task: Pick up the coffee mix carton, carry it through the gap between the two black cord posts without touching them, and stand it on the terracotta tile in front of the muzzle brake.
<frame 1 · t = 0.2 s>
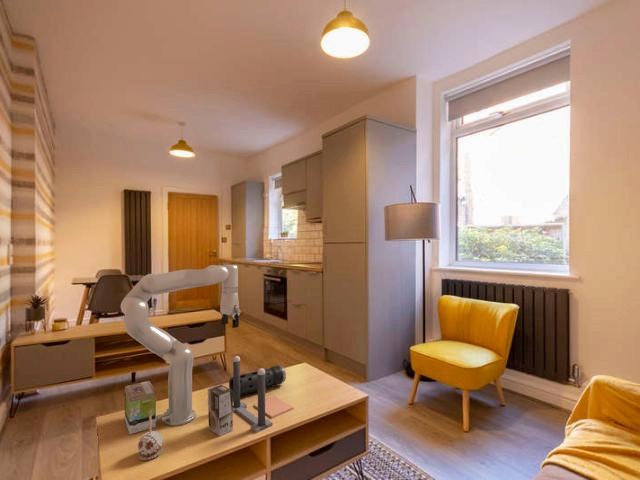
hand: (230, 325, 160), 36 cm above the table, tool pointing down, fingers open, 9 cm apart
terracotta tile: (273, 407, 153), on the table
muzzle brake: (258, 391, 171), on the table
tea box: (140, 423, 141), on the table
decorative ornament: (150, 455, 119), on the table
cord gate: (248, 417, 144), on the table
coffee box: (220, 429, 135), on the table
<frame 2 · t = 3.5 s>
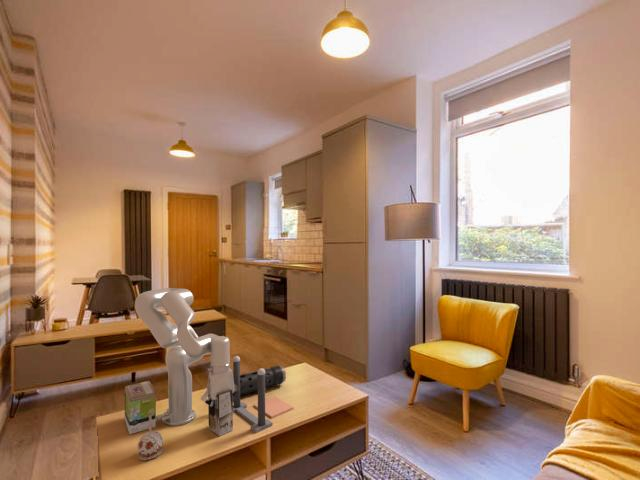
hand: (220, 411, 136), 7 cm above the table, tool pointing down, fingers closed on coffee box, 6 cm apart
coffee box: (220, 429, 135), on the table, touching gripper
everything else where it was.
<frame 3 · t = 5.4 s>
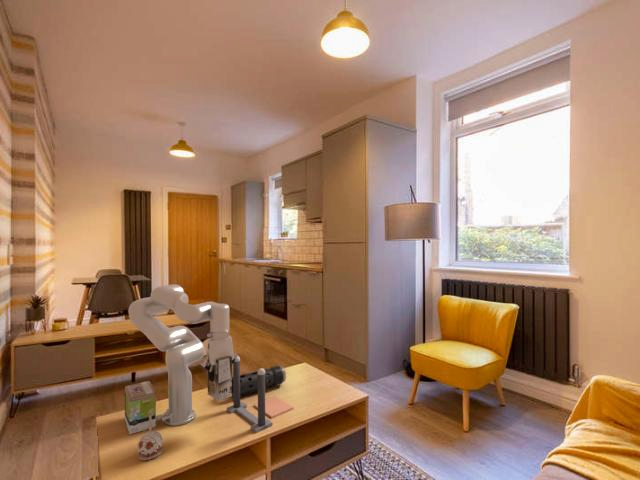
hand: (219, 377, 136), 21 cm above the table, tool pointing down, fingers closed on coffee box, 6 cm apart
coffee box: (219, 395, 136), point 13 cm above the table, touching gripper
everything else where it was.
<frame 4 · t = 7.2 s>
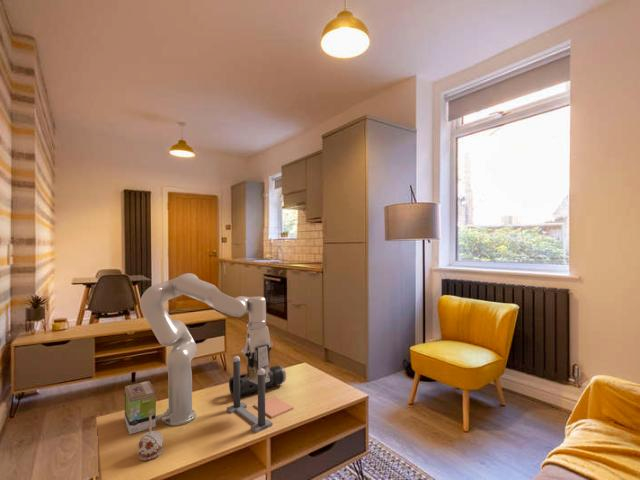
hand: (258, 364, 148), 22 cm above the table, tool pointing down, fingers closed on coffee box, 6 cm apart
coffee box: (258, 381, 148), point 14 cm above the table, touching gripper
everything else where it was.
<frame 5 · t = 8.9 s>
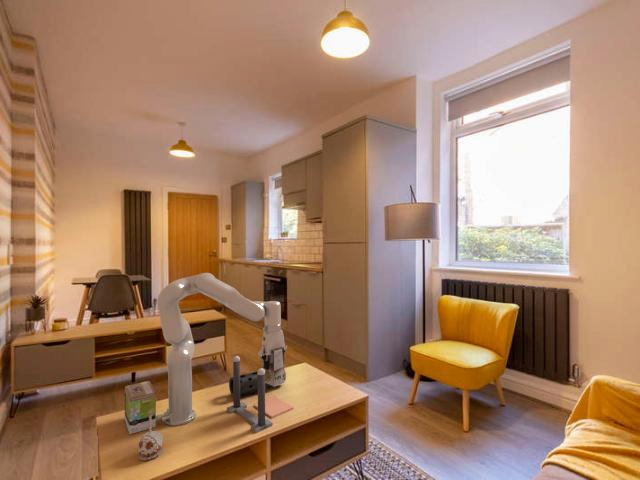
hand: (273, 366, 153), 19 cm above the table, tool pointing down, fingers closed on coffee box, 6 cm apart
coffee box: (273, 382, 153), point 11 cm above the table, touching gripper
everything else where it was.
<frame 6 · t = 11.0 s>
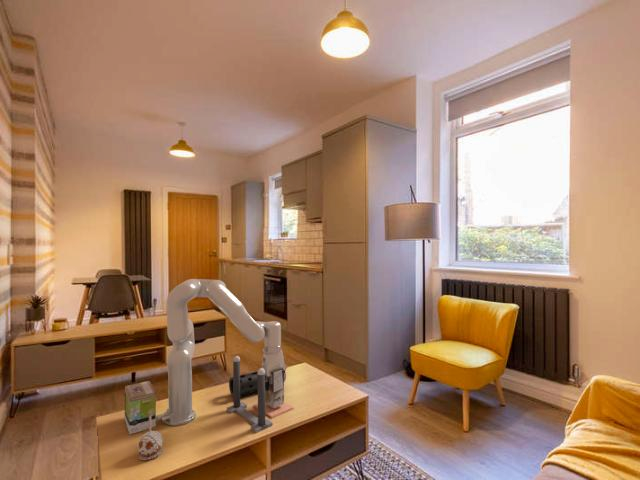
hand: (272, 387, 153), 9 cm above the table, tool pointing down, fingers closed on coffee box, 6 cm apart
coffee box: (272, 403, 153), point 2 cm above the table, touching gripper
everything else where it was.
when the fingers open (9 cm above the table, at t = 11.0 s): coffee box drops 1 cm, resting on terracotta tile.
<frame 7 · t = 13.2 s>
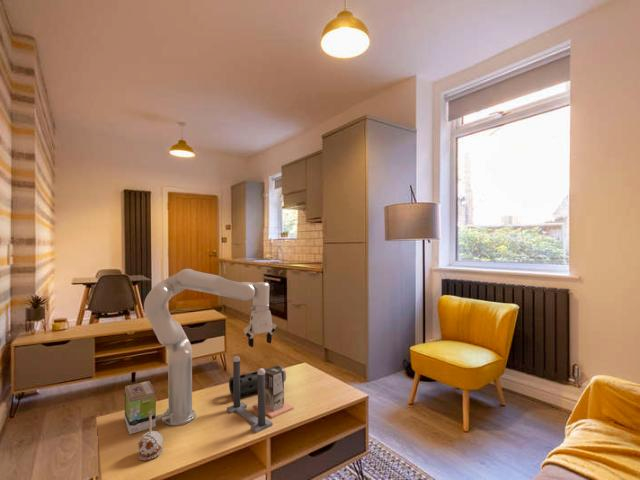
hand: (260, 344, 157), 28 cm above the table, tool pointing down, fingers open, 9 cm apart
coffee box: (273, 406, 153), point 1 cm above the table, touching terracotta tile
everything else where it was.
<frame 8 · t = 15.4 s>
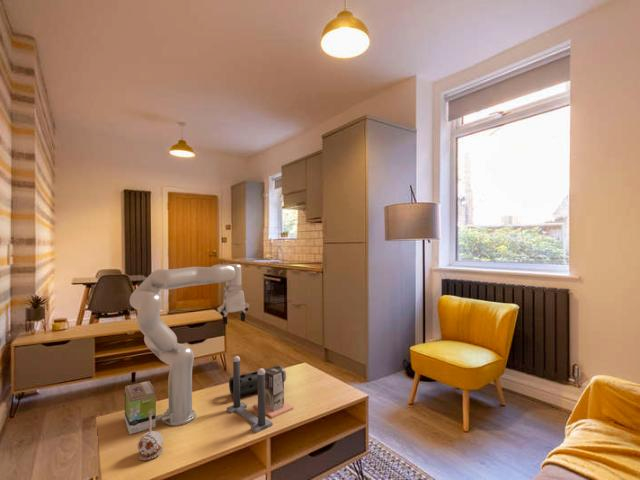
hand: (234, 322, 166), 36 cm above the table, tool pointing down, fingers open, 9 cm apart
nothing on the table moved.
at the end: coffee box inside the target area on the terracotta tile (0.2 cm from its centre), point 0.6 cm above the terracotta tile's base; coffee box tilted 0°; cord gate moved 0.0 cm from its start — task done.
